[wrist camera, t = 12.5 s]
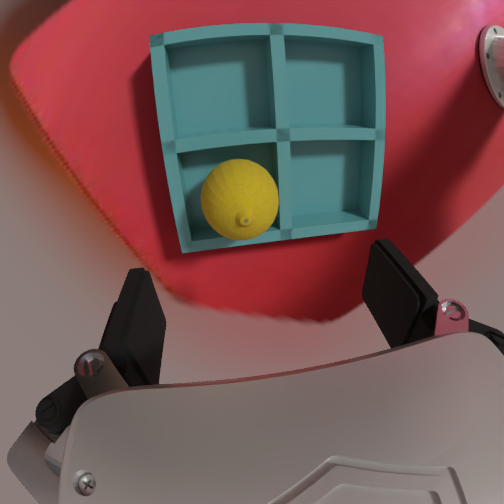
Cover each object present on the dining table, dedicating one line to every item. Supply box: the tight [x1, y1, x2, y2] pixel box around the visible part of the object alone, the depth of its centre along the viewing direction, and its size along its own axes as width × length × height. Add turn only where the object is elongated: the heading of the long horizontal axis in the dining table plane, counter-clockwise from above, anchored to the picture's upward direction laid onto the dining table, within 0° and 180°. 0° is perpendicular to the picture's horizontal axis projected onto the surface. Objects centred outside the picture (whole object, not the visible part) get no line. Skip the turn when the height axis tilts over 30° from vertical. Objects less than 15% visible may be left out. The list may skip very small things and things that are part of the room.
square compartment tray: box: [150, 23, 386, 253], centre depth 21 cm, size 18×18×4 cm
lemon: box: [201, 159, 279, 240], centre depth 20 cm, size 6×6×8 cm
